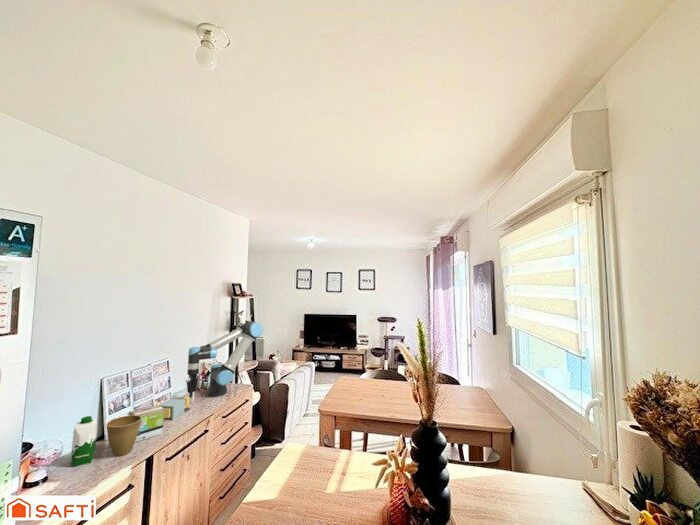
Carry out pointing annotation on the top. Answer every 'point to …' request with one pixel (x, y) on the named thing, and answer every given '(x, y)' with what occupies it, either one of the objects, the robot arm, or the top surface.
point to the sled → (169, 410)
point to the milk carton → (84, 441)
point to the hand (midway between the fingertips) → (191, 401)
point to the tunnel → (175, 407)
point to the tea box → (149, 421)
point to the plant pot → (123, 433)
